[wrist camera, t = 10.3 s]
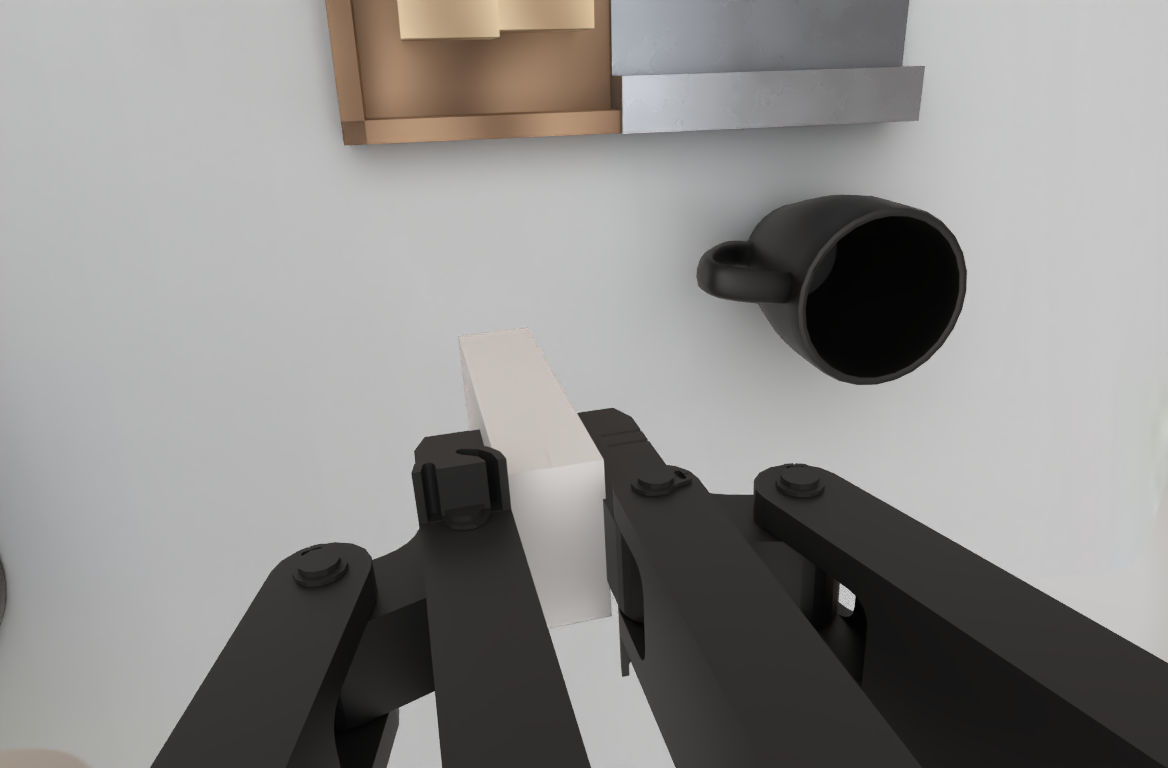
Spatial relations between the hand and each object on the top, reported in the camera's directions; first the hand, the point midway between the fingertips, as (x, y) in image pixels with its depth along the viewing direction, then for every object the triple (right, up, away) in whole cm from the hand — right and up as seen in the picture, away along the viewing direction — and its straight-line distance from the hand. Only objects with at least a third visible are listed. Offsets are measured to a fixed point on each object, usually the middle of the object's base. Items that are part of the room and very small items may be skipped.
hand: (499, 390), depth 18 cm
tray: (-3, +18, +19) cm, 26 cm away
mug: (+11, +8, +27) cm, 30 cm away
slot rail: (+10, +19, +22) cm, 31 cm away
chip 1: (-4, +18, +18) cm, 26 cm away
